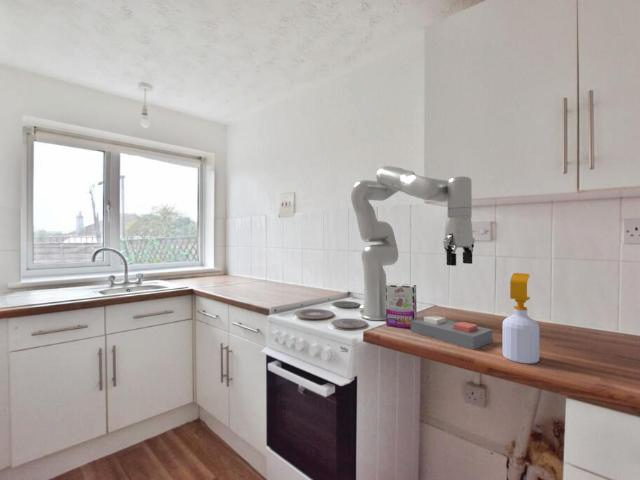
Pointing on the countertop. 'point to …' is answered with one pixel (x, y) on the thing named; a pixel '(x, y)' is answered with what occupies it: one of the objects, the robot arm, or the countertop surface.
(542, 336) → the countertop surface
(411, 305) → the candy bar box
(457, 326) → the brick-red key
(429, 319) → the ivory key
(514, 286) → the soap bottle
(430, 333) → the key console
